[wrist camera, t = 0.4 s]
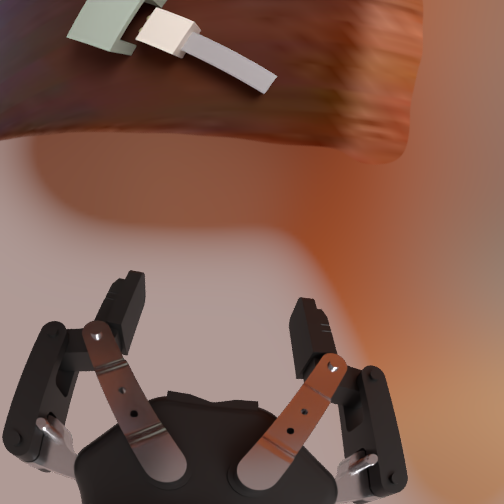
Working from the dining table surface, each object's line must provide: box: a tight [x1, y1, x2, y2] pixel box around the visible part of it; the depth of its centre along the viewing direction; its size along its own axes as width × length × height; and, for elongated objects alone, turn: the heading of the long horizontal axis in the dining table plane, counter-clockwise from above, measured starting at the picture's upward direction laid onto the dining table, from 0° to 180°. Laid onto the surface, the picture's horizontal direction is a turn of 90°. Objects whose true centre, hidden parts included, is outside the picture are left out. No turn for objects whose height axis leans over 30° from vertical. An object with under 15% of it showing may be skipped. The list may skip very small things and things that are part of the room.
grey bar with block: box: [136, 7, 277, 94], centre depth 25 cm, size 17×4×5 cm, turn 58°
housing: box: [67, 0, 167, 55], centre depth 21 cm, size 7×9×6 cm
